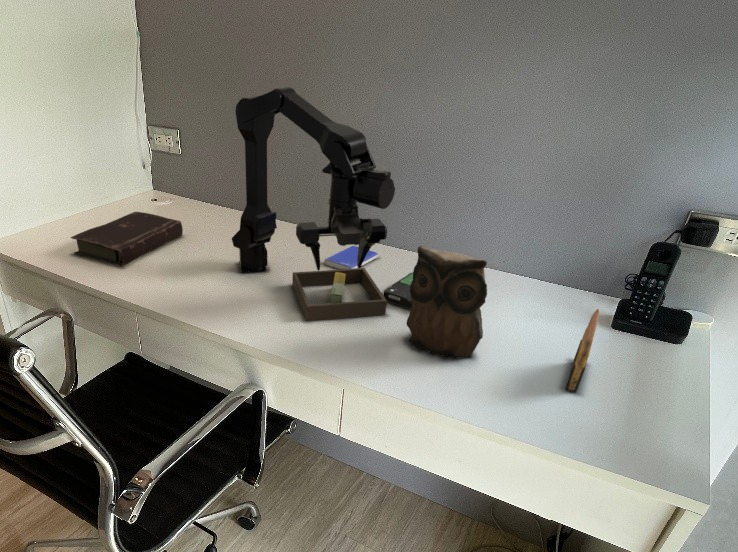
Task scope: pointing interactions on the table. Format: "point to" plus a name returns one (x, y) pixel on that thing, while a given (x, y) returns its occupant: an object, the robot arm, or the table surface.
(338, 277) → the medication box
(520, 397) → the table surface
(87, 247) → the diary
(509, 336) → the table surface
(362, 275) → the storage box
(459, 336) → the owl
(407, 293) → the disk drive
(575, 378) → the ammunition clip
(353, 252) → the hard drive
